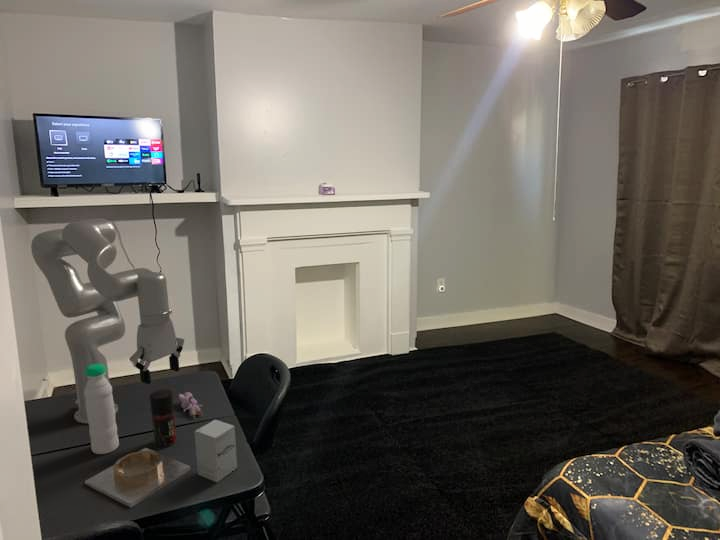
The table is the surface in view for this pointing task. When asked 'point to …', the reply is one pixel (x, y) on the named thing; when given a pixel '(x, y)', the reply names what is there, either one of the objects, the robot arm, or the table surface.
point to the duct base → (140, 490)
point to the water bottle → (100, 411)
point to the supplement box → (215, 450)
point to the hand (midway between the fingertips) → (160, 376)
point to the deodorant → (163, 418)
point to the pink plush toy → (190, 404)
